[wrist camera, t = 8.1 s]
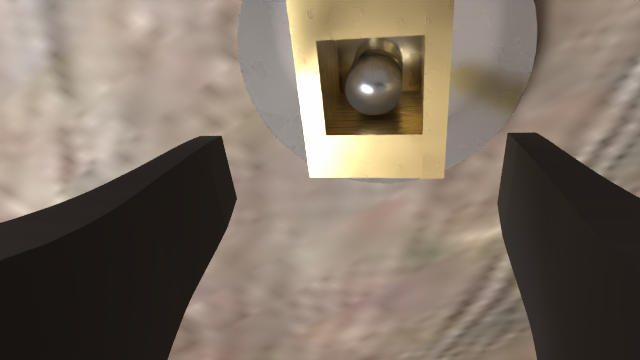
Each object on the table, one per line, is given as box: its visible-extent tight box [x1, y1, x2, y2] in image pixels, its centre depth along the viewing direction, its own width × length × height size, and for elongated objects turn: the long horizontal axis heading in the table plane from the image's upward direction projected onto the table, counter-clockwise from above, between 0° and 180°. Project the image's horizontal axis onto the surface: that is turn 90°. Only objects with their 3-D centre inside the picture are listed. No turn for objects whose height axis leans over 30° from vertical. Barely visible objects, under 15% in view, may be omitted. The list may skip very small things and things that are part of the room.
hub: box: [238, 0, 537, 183], centre depth 17 cm, size 12×12×4 cm
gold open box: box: [286, 0, 455, 178], centre depth 16 cm, size 5×7×4 cm
